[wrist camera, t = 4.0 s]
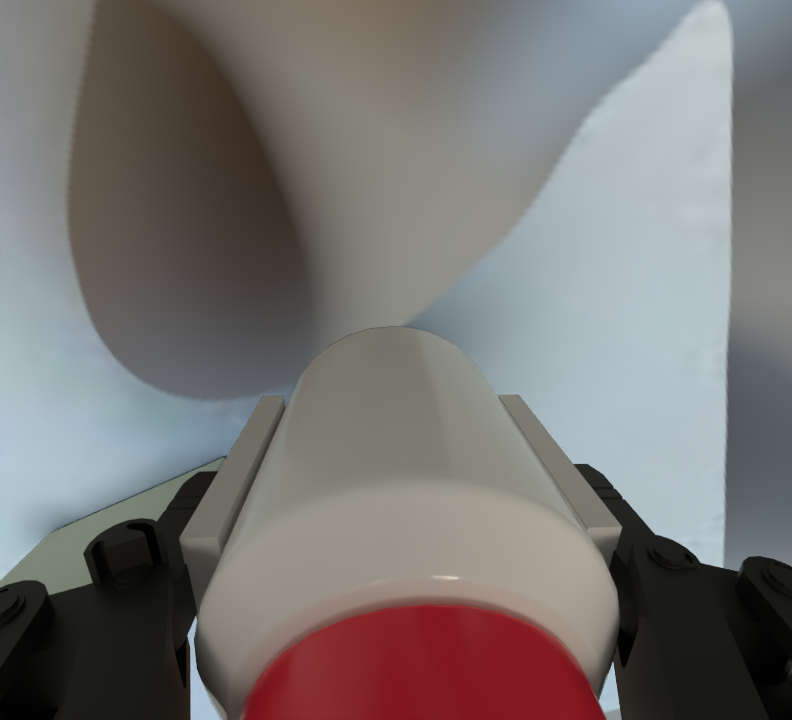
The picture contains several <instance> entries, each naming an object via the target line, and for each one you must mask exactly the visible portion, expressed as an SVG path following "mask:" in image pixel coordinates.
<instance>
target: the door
mask: <svg viewBox="0 0 792 720" xmlns="http://www.w3.org/2000/svg"><path fill="white" fill-rule="evenodd" d="M225 460H226V459H225V458H224V457H223V458H221V459H218V460H216V461H214V462H212V463H209V464H207V465H205V466H202V467H200V468H198V469H195V470H193V471H191V472H189V473H186V474H184V475H182V476H179V477H177V478H175V479H173V480H170V481H168V482H166V483H163V484H161V485H159V486H156V487H154V488H152V489H150V490H147V491H145V492H143V493H140V494H138V495H136V496H133V497H131V498H129V499H127V500H124V501H122V502H120V503H117V504H115V505H113V506H111V507H108V508H106V509H104V510H101V511H99V512H97V513H94V514H92V515H90V516H88V517H85V518H83V519H81V520H78V521H76V522H74V523H71V524H69V525H67V526H65V527H62V528H60V529H58V530H55V531H53V532H51V533H49V534H48V535H47V536H46V537H45V538H44V539H43V540H42V541H41V542H40V543H39V544H38V545H37V546H36V547H35V548H34V549H33V550H32V551H31V552H30V553H29V554H28V555H27V556H26V557H24V558H23V559H22V560H21V561H20V562H19V563H18V564H17V565H16V566H15V567H14V568H13V569H12V570H11V571H10V572H9V573H8V574H7V575H6V576H5V577H4V578H3V579H2V580H1V581H0V588H1V587H3V586H5V585H7V584H11V583H15V582H19V581H23V580H37V581H39V582H41V583H43V584H45V586H46V589H47V591H48V594H49V595H51V594H55V593H59V592H62V591H66V590H70V589H73V588H77V587H81V586H84V585H87V584H90V583H93V582H92V579H91V576H90V573H89V570H88V567H87V564H86V561H85V558H84V555H83V553H84V551H85V549H86V547H87V546H88V544H89V543H90V542H91V541H92V540H93V539H94V538H95V537H96V536H97V535H99V534H100V533H101V532H103V531H105V530H106V529H108V528H110V527H112V526H113V525H116V524H119V523H121V522H124V521H127V520H132V519H138V518H147V519H153V520H155V521H156V522H157V521H158V519H159V518H160V516H161V515H162V513H163V512H164V511H166V508H167V506H168V505H169V503H170V502H171V500H172V499H174V496H175V495H176V493H177V492H178V490H179V489H180V487H181V486H182V484H183V483H184V482H186V481H187V480H188V479H189V478H191V477H192V476H193V475H195V474H196V473H197V472H199V471H219V470H220V468H221V466H222V465H223V463H224V461H225Z"/></svg>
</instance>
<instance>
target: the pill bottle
mask: <svg viewBox="0 0 792 720" xmlns="http://www.w3.org/2000/svg"><path fill="white" fill-rule="evenodd" d="M620 622H621V616H620V609H619V601H618V593H617V589H616V585H615V582H614V580H613V578H612V576H611V573H610V571H609V569H608V567H607V564H606V562H605V560H604V558H603V555H602V553H601V552H600V550H599V548H598V547H597V545H596V544H595V542H594V541H593V539H592V538H591V536H590V535H589V533H588V531H587V530H586V528H585V527H584V525H583V524H582V522H581V521H580V519H579V518H578V516H577V515H576V513H575V512H574V510H573V509H572V507H571V506H570V504H569V503H568V501H567V500H566V498H565V497H564V495H563V494H562V492H561V491H560V489H559V488H558V486H557V485H556V483H555V482H554V480H553V479H552V477H551V476H550V474H549V473H548V471H547V470H546V468H545V467H544V465H543V464H542V462H541V461H540V459H539V458H538V456H537V454H536V453H535V451H534V450H533V448H532V447H531V445H530V444H529V442H528V441H527V439H526V438H525V436H524V435H523V433H522V432H521V430H520V429H519V427H518V426H517V424H516V423H515V421H514V420H513V418H512V417H511V415H510V414H509V412H508V411H507V409H506V408H505V406H504V405H503V403H502V402H501V400H500V399H499V397H498V396H497V394H496V393H495V391H494V390H493V388H492V387H491V385H490V384H489V382H488V381H487V379H486V378H485V376H484V374H483V373H482V372H481V370H480V369H479V368H478V367H477V365H476V364H475V363H474V362H473V360H472V359H471V358H470V357H469V356H468V355H467V354H466V353H465V352H463V351H462V350H461V349H460V348H458V347H457V346H456V345H455V344H454V343H452V342H450V341H448V340H446V339H444V338H442V337H440V336H438V335H436V334H434V333H430V332H427V331H423V330H420V329H416V328H408V327H397V326H389V327H380V328H370V329H367V330H364V331H361V332H357V333H354V334H351V335H348V336H346V337H344V338H342V339H341V340H339V341H337V342H335V343H333V344H331V345H330V346H328V347H327V348H326V349H325V350H324V351H322V352H321V353H320V354H319V355H317V356H316V357H315V358H314V359H313V360H312V362H311V363H310V364H309V365H308V366H307V368H306V369H305V370H304V371H303V373H302V374H301V376H300V378H299V380H298V382H297V384H296V386H295V388H294V390H293V392H292V394H291V396H290V399H289V401H288V403H287V406H286V408H285V410H284V412H283V415H282V417H281V419H280V421H279V424H278V426H277V428H276V430H275V433H274V435H273V437H272V440H271V442H270V444H269V446H268V449H267V451H266V453H265V455H264V458H263V460H262V462H261V465H260V467H259V469H258V471H257V474H256V476H255V478H254V480H253V483H252V485H251V487H250V490H249V492H248V494H247V496H246V499H245V501H244V503H243V505H242V508H241V510H240V512H239V514H238V517H237V519H236V521H235V524H234V526H233V528H232V530H231V533H230V535H229V537H228V539H227V542H226V544H225V546H224V549H223V551H222V553H221V555H220V558H219V560H218V562H217V564H216V567H215V569H214V571H213V574H212V576H211V578H210V580H209V583H208V585H207V587H206V589H205V592H204V595H203V597H202V600H201V604H200V609H199V614H198V620H197V625H196V630H195V637H194V644H195V654H196V663H197V670H198V673H199V675H200V678H201V680H202V683H203V685H204V688H205V690H206V692H207V695H208V697H209V700H210V702H211V704H212V706H213V707H214V709H215V711H216V712H217V714H218V716H219V718H220V719H221V720H607V719H606V717H605V714H604V712H603V710H602V708H601V706H600V703H599V699H600V696H601V693H602V690H603V687H604V685H605V682H606V679H607V676H608V673H609V671H610V668H611V665H612V662H613V659H614V657H615V653H616V647H617V641H618V635H619V628H620Z"/></svg>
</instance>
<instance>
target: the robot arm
mask: <svg viewBox="0 0 792 720" xmlns="http://www.w3.org/2000/svg"><path fill="white" fill-rule="evenodd" d="M498 397H499V399H500V400H501V402H502V403H503V405H504V406H505V408H506V409H507V411H508V412H509V414H510V415H511V417H512V418H513V420H514V421H515V423H516V424H517V426H518V427H519V429H520V430H521V432H522V433H523V435H524V436H525V438H526V439H527V441H528V442H529V444H530V445H531V447H532V448H533V450H534V451H535V453H536V454H537V456H538V458H539V459H540V461H541V462H542V464H543V465H544V467H545V468H546V470H547V471H548V473H549V474H550V476H551V477H552V479H553V480H554V482H555V483H556V485H557V486H558V488H559V489H560V491H561V492H562V494H563V495H564V497H565V498H566V500H567V501H568V503H569V504H570V506H571V507H572V509H573V510H574V512H575V513H576V515H577V516H578V518H579V519H580V521H581V522H582V524H583V525H584V527H585V528H586V530H587V531H588V533H589V535H590V536H591V538H592V539H593V541H594V542H595V544H596V545H597V547H598V548H599V550H600V552H601V553H602V555H603V558H604V560H605V562H606V564H607V567H608V569H609V571H610V573H611V576H612V578H613V580H614V582H615V585H616V589H617V593H618V601H619V609H620V616H621V622H620V628H619V635H618V641H617V647H616V653H615V657H614V659H613V662H614V669H615V676H616V683H617V690H618V697H619V704H620V711H621V717H622V720H792V567H791V566H790V565H787V564H785V563H782V562H780V561H777V560H775V559H771V558H766V557H761V556H755V557H748V558H747V559H746V560H744V561H743V563H742V565H741V568H740V570H739V572H738V571H734V570H729V569H725V568H720V567H715V566H711V565H706V564H703V563H700V562H699V560H698V559H697V557H696V556H695V555H694V554H693V553H691V552H690V551H689V550H688V549H687V548H686V547H684V546H682V545H680V544H679V543H677V542H675V541H673V540H671V539H668V538H665V537H662V536H659V535H655V534H654V533H653V532H652V531H651V529H650V528H649V527H648V526H647V525H646V524H645V522H644V521H643V520H642V519H641V518H640V517H639V516H638V514H637V513H636V512H635V511H634V510H633V509H632V507H631V506H630V505H629V504H628V503H627V502H626V500H625V499H622V496H621V495H620V494H619V492H618V491H617V490H616V489H614V488H613V485H612V484H611V483H610V482H609V481H608V480H607V479H606V477H605V476H604V475H603V474H602V473H600V472H599V471H597V470H596V469H594V468H593V467H591V466H590V465H588V464H573V463H572V462H571V461H570V460H569V458H568V457H567V456H566V454H565V453H564V452H563V451H562V449H561V448H560V447H559V445H558V444H557V443H556V442H555V440H554V439H553V438H552V437H551V435H550V434H549V433H548V431H547V430H546V429H545V428H544V426H543V425H542V424H541V422H540V421H539V420H538V419H537V417H536V416H535V415H534V414H533V412H532V411H531V410H530V408H529V407H528V406H527V405H526V403H525V402H524V401H523V400H522V398H521V397H520V396H519V395H499V396H498ZM284 410H285V398H284V396H263V397H262V398H261V400H260V402H259V404H258V405H257V407H256V409H255V410H254V412H253V414H252V415H251V417H250V419H249V421H248V422H247V424H246V426H245V427H244V429H243V431H242V432H241V434H240V436H239V437H238V439H237V441H236V443H235V444H234V446H233V448H232V449H231V451H230V453H229V454H228V456H227V458H226V460H225V461H224V463H223V465H222V466H221V468H220V470H219V471H199V472H197V473H196V474H195V475H193V476H192V477H191V478H189V479H188V480H187V481H186V482H184V483H183V484H182V486H181V487H180V489H179V490H178V492H177V493H176V495H175V496H174V499H172V500H171V502H170V503H169V505H168V506H167V508H166V511H164V512H163V513H162V515H161V516H160V518H159V519H158V521H157V522H156V521H155V520H153V519H147V518H138V519H132V520H127V521H124V522H121V523H119V524H116V525H113V526H112V527H110V528H108V529H106V530H105V531H103V532H101V533H100V534H99V535H97V536H96V537H95V538H94V539H93V540H92V541H91V542H90V543H89V544H88V546H87V547H86V549H85V551H84V553H83V555H84V558H85V561H86V564H87V567H88V570H89V573H90V576H91V579H92V582H93V583H90V584H87V585H84V586H81V587H77V588H73V589H70V590H66V591H62V592H59V593H55V594H51V595H49V594H48V591H47V589H46V586H45V584H43V583H41V582H39V581H37V580H23V581H19V582H15V583H11V584H7V585H5V586H3V587H1V588H0V720H190V645H189V641H188V637H187V635H188V632H189V630H190V628H191V625H192V623H193V621H194V619H195V616H196V617H197V620H198V614H199V609H200V604H201V600H202V597H203V595H204V592H205V589H206V587H207V585H208V583H209V580H210V578H211V576H212V574H213V571H214V569H215V567H216V564H217V562H218V560H219V558H220V555H221V553H222V551H223V549H224V546H225V544H226V542H227V539H228V537H229V535H230V533H231V530H232V528H233V526H234V524H235V521H236V519H237V517H238V514H239V512H240V510H241V508H242V505H243V503H244V501H245V499H246V496H247V494H248V492H249V490H250V487H251V485H252V483H253V480H254V478H255V476H256V474H257V471H258V469H259V467H260V465H261V462H262V460H263V458H264V455H265V453H266V451H267V449H268V446H269V444H270V442H271V440H272V437H273V435H274V433H275V430H276V428H277V426H278V424H279V421H280V419H281V417H282V415H283V412H284Z"/></svg>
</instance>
